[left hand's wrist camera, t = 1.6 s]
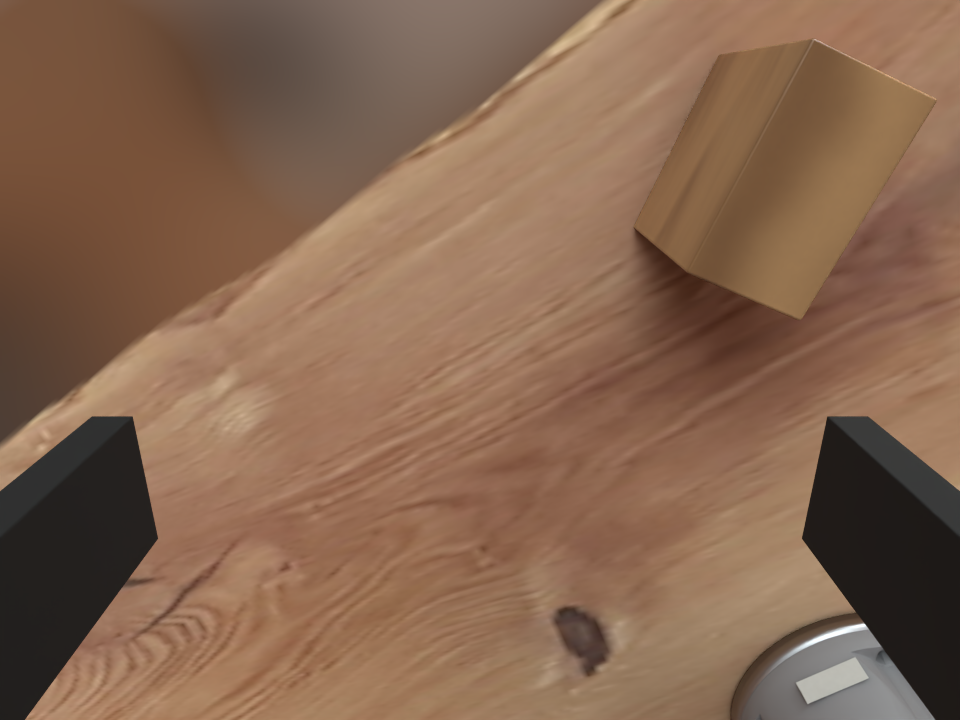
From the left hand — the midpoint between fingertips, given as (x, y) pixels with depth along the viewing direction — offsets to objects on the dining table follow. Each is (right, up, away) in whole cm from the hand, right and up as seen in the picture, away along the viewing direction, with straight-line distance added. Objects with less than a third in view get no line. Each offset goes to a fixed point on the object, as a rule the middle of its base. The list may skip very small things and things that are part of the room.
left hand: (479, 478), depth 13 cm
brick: (+11, +12, +19) cm, 25 cm away
